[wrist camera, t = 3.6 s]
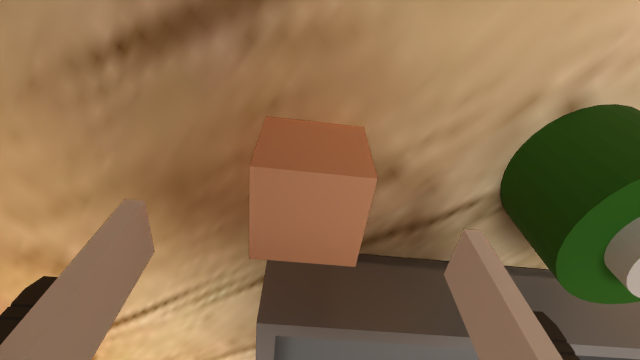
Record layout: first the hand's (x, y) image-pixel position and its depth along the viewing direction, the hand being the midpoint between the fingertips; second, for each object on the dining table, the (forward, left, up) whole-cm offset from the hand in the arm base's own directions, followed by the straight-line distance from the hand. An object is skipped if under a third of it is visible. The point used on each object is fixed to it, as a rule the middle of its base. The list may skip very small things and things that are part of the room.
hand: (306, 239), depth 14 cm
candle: (+15, +2, -6) cm, 16 cm away
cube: (0, +1, -6) cm, 6 cm away
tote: (+11, -13, -5) cm, 18 cm away
